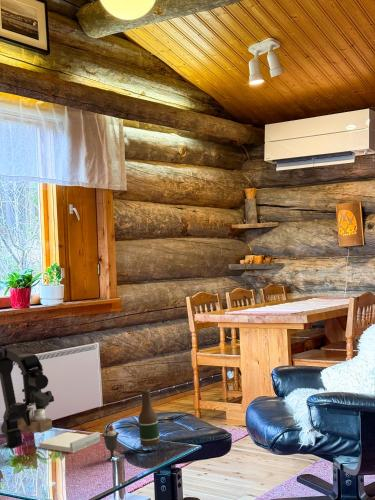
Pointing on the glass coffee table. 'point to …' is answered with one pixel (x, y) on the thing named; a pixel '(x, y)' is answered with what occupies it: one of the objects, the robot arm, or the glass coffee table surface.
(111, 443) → the sundae
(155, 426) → the beer bottle
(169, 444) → the glass coffee table surface
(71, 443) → the cream flat block
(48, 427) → the glass caddy
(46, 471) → the glass coffee table surface
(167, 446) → the glass coffee table surface
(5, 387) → the robot arm
